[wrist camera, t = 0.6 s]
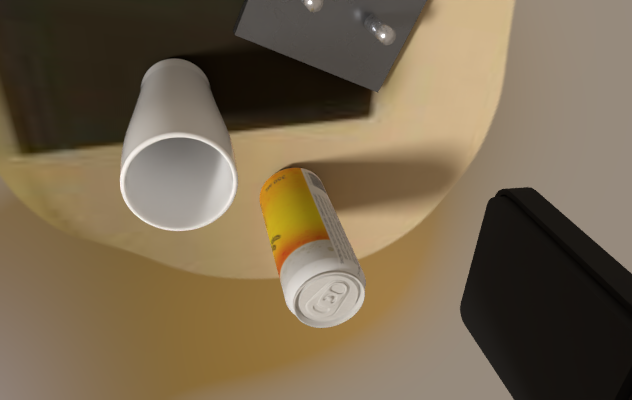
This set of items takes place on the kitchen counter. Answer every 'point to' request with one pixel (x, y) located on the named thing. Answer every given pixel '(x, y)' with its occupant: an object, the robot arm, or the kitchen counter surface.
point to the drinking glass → (177, 151)
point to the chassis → (333, 33)
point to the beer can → (311, 249)
